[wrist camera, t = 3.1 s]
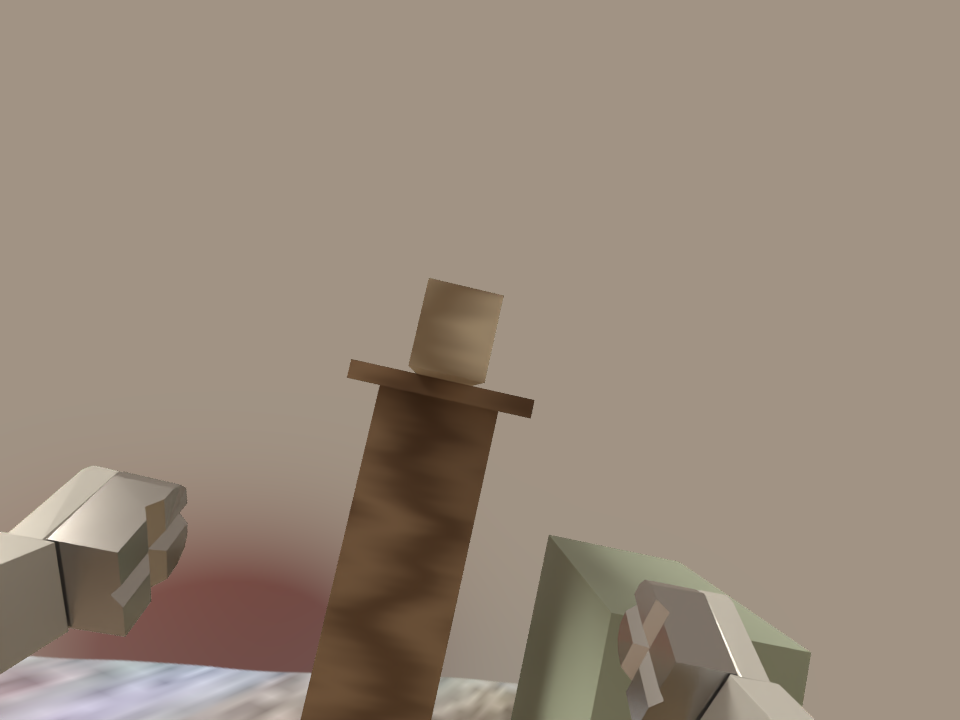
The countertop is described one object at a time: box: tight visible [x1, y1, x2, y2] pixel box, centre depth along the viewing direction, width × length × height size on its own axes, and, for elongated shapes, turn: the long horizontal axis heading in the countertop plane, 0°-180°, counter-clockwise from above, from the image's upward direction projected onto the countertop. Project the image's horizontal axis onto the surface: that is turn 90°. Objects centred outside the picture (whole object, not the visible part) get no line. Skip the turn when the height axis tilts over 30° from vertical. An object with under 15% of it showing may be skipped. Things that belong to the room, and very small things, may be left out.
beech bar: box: [409, 278, 504, 386], centre depth 31 cm, size 3×20×4 cm, turn 5°
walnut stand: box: [301, 359, 534, 720], centre depth 35 cm, size 10×14×26 cm
